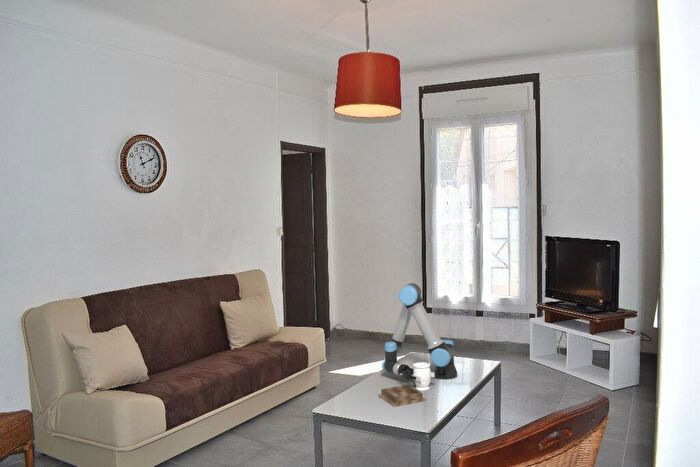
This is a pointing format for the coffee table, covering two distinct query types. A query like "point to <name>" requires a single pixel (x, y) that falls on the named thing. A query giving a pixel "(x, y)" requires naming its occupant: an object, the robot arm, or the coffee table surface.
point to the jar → (422, 375)
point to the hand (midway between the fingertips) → (427, 377)
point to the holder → (401, 395)
